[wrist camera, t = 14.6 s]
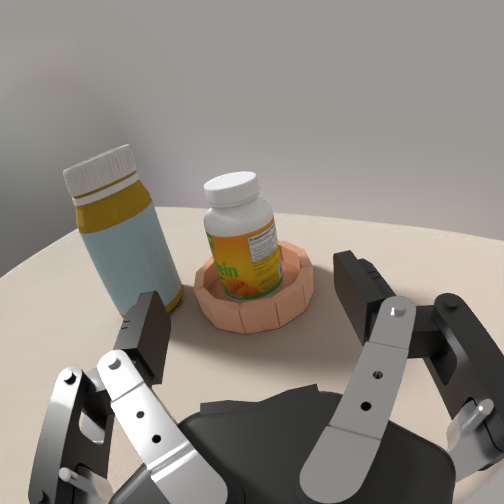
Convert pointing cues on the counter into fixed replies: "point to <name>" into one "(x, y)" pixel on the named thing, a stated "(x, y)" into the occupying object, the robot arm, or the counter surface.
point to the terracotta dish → (264, 310)
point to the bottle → (122, 229)
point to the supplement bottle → (242, 238)
